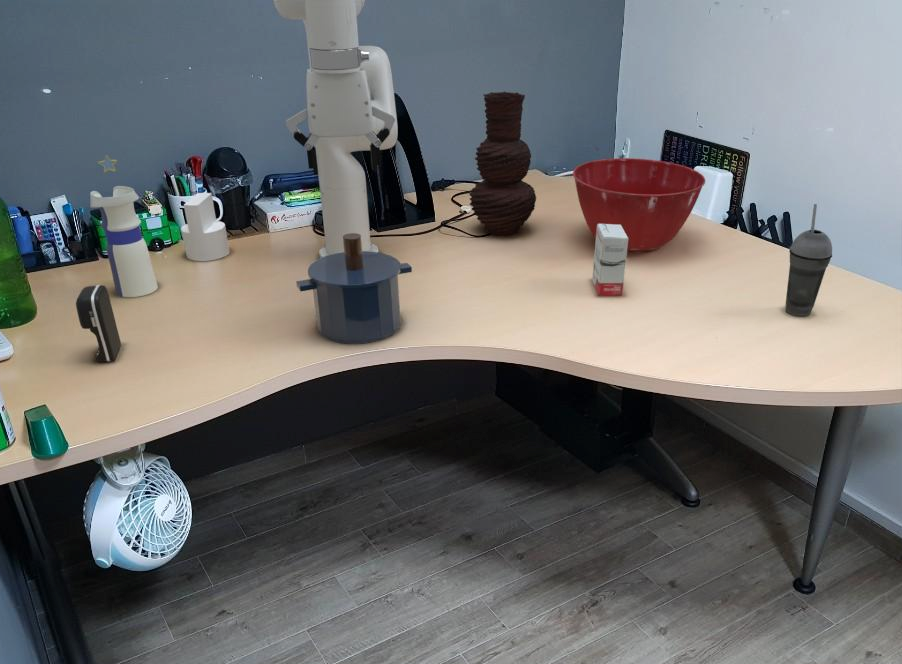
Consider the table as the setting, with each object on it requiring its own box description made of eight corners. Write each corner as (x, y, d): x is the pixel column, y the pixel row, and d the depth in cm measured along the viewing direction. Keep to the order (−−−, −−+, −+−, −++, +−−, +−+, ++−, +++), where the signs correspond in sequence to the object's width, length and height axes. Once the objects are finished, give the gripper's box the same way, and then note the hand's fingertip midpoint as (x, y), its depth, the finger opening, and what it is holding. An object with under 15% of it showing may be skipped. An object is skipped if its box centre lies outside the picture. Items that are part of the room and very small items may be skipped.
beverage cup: (798, 323, 144) (821, 214, 134) (768, 308, 150) (789, 203, 140) (827, 315, 147) (852, 208, 137) (797, 301, 153) (819, 197, 142)
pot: (293, 320, 145) (286, 265, 139) (397, 300, 152) (394, 248, 147) (316, 353, 133) (309, 295, 128) (427, 330, 141) (425, 274, 136)
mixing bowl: (713, 236, 185) (724, 168, 177) (667, 275, 164) (676, 200, 156) (602, 215, 198) (607, 151, 190) (546, 249, 177) (549, 179, 169)
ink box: (623, 296, 155) (629, 237, 149) (597, 296, 154) (602, 237, 148) (615, 279, 162) (621, 222, 156) (591, 279, 162) (595, 222, 156)
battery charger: (98, 345, 136) (80, 282, 130) (122, 343, 136) (105, 281, 130) (89, 365, 130) (70, 299, 124) (114, 362, 130) (96, 297, 125)
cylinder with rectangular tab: (222, 261, 170) (212, 205, 164) (180, 260, 170) (168, 205, 164) (234, 246, 178) (225, 193, 171) (194, 246, 178) (184, 192, 172)
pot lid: (297, 266, 141) (293, 229, 137) (382, 252, 147) (380, 216, 143) (323, 298, 129) (319, 258, 125) (415, 281, 135) (413, 243, 131)
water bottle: (104, 290, 156) (70, 160, 143) (146, 278, 162) (116, 151, 149) (124, 301, 151) (90, 168, 139) (166, 288, 157) (137, 159, 144)
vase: (456, 232, 186) (453, 96, 171) (493, 216, 197) (494, 86, 182) (511, 245, 179) (513, 104, 163) (547, 227, 190) (552, 93, 174)
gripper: (389, 55, 129) (395, 163, 137) (278, 58, 126) (292, 168, 134) (393, 62, 122) (399, 174, 131) (277, 65, 119) (291, 180, 128)
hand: (345, 171), depth 133 cm, fingers open, 9 cm apart
